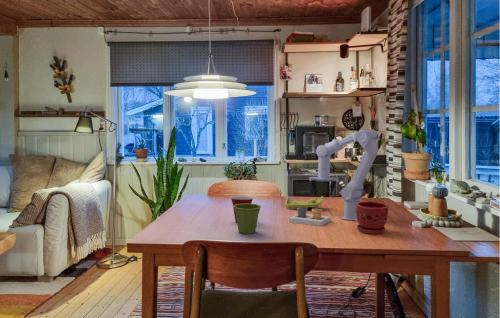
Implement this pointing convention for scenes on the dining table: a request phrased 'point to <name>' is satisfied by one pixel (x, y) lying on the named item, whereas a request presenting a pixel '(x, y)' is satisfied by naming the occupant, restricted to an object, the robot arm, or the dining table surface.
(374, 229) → the plant pot
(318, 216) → the tan rubber stopper
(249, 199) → the plastic cup
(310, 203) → the plastic component
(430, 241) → the dining table surface
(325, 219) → the housing
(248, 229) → the plant pot
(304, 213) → the charcoal flared cup
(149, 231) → the dining table surface
